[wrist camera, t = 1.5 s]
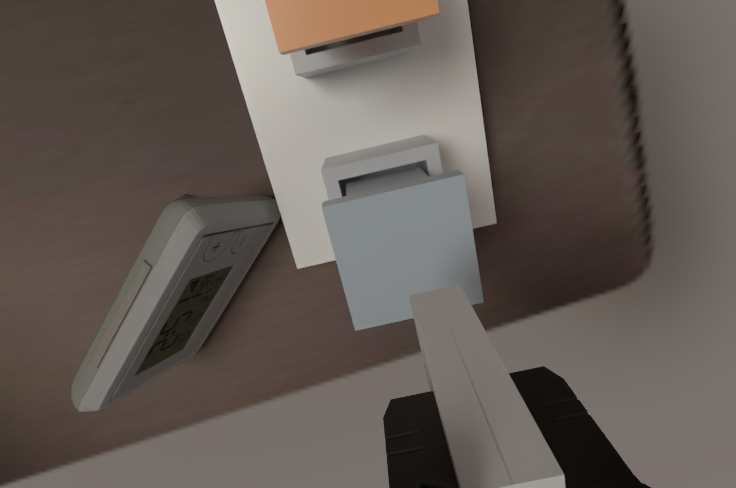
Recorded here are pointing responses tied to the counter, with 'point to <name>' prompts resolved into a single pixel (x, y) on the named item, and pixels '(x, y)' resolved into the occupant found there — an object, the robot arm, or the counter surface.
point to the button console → (360, 113)
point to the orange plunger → (340, 19)
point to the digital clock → (173, 293)
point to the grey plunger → (402, 242)
